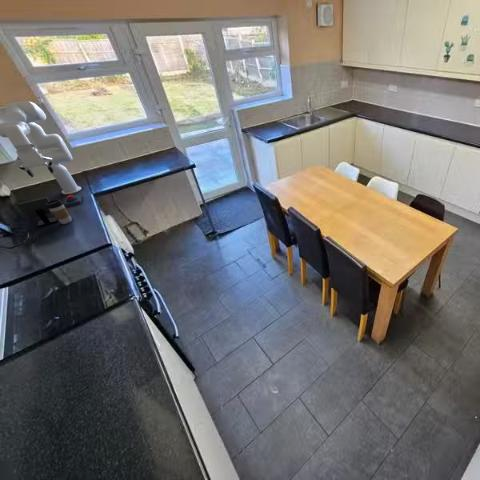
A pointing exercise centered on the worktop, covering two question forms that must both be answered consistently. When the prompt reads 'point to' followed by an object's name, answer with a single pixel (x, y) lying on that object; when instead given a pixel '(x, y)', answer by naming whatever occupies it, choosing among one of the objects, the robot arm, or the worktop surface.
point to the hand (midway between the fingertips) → (42, 174)
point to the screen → (34, 206)
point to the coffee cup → (59, 211)
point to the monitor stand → (45, 218)
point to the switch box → (73, 201)
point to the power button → (70, 196)
